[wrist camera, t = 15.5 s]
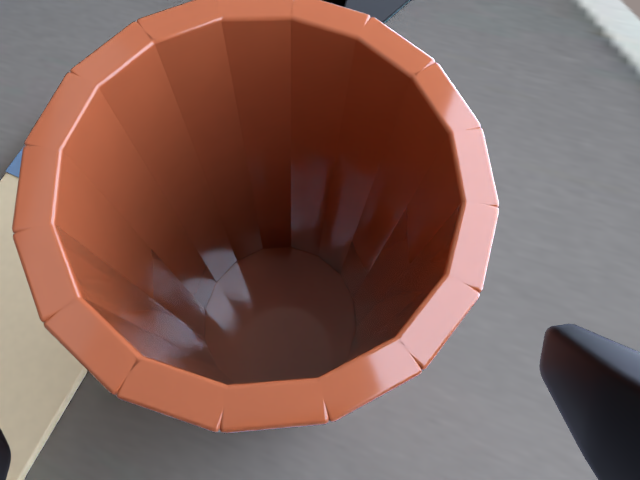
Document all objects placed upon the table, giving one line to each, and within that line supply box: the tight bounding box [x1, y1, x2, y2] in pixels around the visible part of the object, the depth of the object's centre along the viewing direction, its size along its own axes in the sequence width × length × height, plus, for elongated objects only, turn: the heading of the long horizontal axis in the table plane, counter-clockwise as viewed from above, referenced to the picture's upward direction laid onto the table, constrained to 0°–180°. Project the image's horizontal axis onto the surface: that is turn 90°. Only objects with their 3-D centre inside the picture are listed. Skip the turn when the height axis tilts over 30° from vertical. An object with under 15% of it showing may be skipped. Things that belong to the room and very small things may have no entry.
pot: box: [12, 0, 499, 433], centre depth 13 cm, size 7×7×12 cm
